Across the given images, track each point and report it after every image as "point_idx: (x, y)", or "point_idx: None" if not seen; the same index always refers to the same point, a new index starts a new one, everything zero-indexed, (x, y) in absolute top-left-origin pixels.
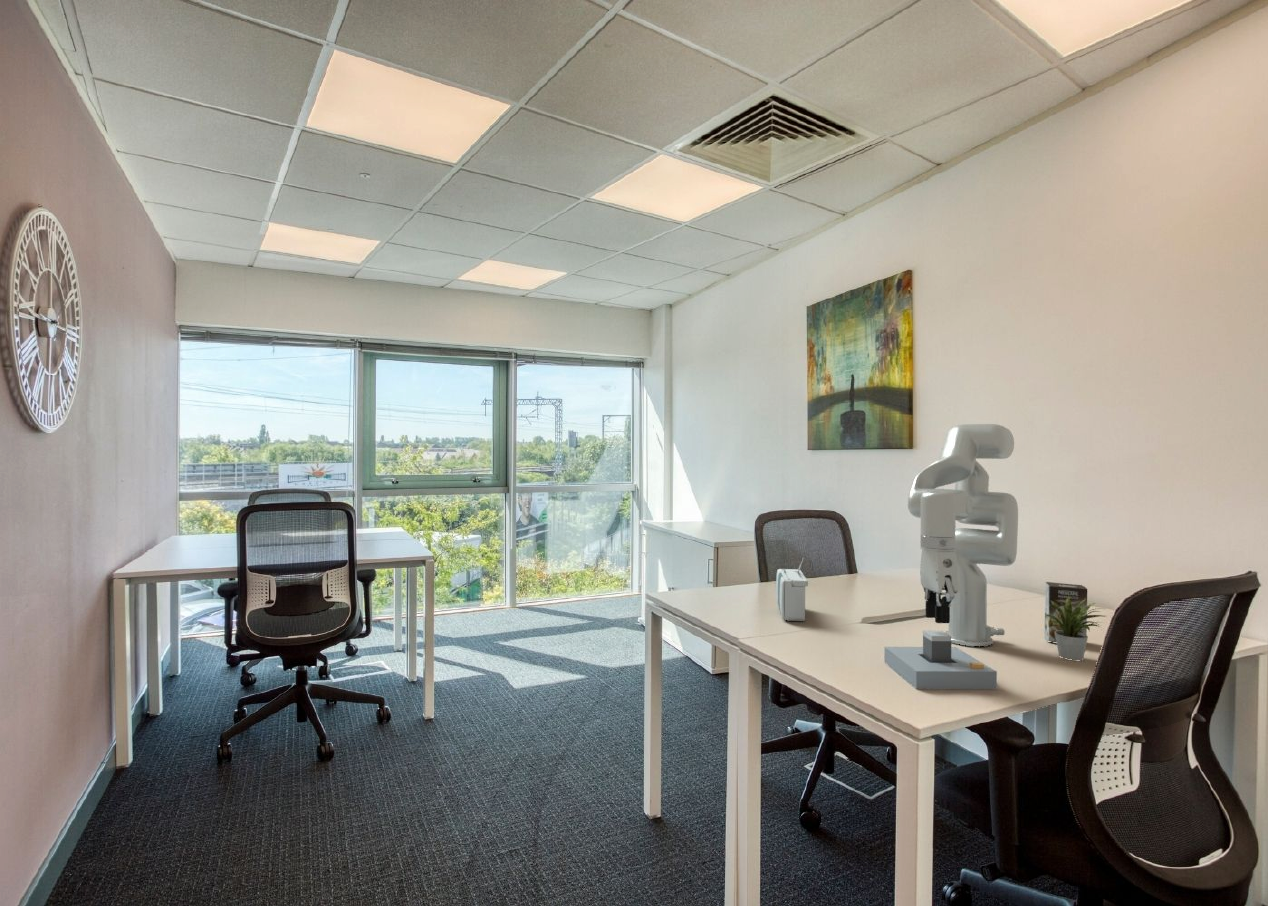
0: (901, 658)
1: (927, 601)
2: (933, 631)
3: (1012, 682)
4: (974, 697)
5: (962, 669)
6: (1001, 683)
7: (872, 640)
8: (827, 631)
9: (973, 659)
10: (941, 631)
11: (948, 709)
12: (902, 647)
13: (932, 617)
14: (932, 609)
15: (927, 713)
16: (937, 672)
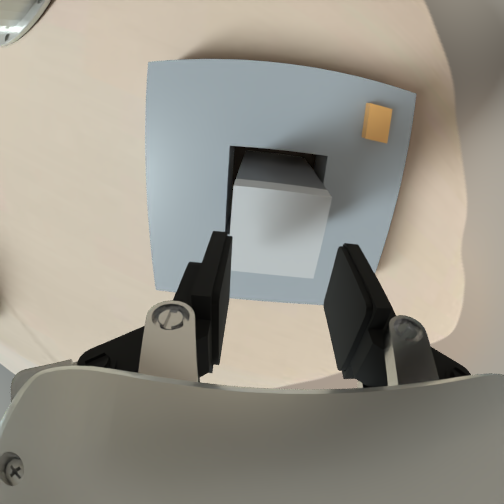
0: (263, 297)
1: (211, 367)
2: (245, 234)
3: (346, 12)
4: (422, 186)
5: (384, 183)
6: (353, 44)
7: (21, 216)
8: (3, 277)
9: (298, 75)
10: (248, 197)
11: (442, 273)
12: (157, 246)
13: (230, 272)
14: (224, 304)
15: (437, 310)
16: (377, 259)
